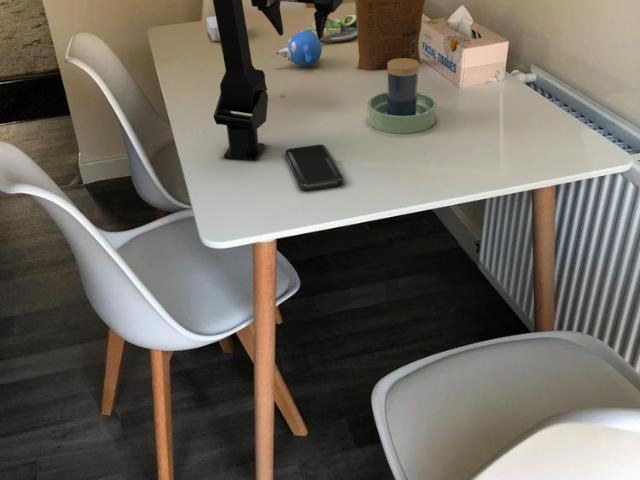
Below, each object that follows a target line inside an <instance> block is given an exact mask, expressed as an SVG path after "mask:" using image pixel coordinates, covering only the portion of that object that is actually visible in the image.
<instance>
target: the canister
mask: <svg viewBox="0 0 640 480" xmlns="http://www.w3.org/2000/svg"><path fill="white" fill-rule="evenodd" d="M386 71H387V91H386V92H387V114H388V115H393V116H411V115H416V103H417V92H418V82H419V81H418V79H419V71H420V61H419V62H418V61H416V60H413V59H408V58H398V59H393V60H390V61H389V62H388V63H387V69H386Z"/></svg>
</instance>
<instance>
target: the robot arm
mask: <svg viewBox="0 0 640 480" xmlns="http://www.w3.org/2000/svg"><path fill="white" fill-rule="evenodd" d="M281 2H288V3H299V4H309V5H310V4H311V5H313V9H315V11H314V13H313V16H314V22H315V24H316V31H317V36H318V39H319V40H321V39H322V36H323V32H324V28H325V24H326V20H327V18H329V15H331V14H333V13H335V12H336V10H337V9H338V8H339V7H340V6H341V5H342V4H343V3H344V0H250V4H251V7H255V8H257V10H258V11H259V12H262V14H263V15H264V17H266V19H267V20H268V22H270V24H271V25H272V26H273V29H274V30H275V31H276V33H277V34H278V35H279V36H280V37H282V36H283V35H284V26H283V25H284V24H283V20H282V19H283V18H282V13H281ZM212 5H213V9H214V16H216V20H217V26H218V31H219V36H220V41H219V42H220V47H221V51H222V57H223V63H224V67H225V68H224V69H225V72H224V74H223V76H222V79H221V82H220V83H219V88H220V89H219V90H220V94H219V97H218V100H217V104H216V107H215V110H214V113H213V120H214V122H215V124H216V125H218V126H219V125H220V126H226V131H227V134H226V135H227V142H228V149H227V150H225V152H224V154H223V158H224V159H234V160H246V161H247V160H248V161H256V160H257V159H258V157H259V156H260V154H261V153H262V151H263V149H264V148H265V143H263V142H259V136H258V129H259V128H260V127H261V126H263V124H265V123H266V122H267V115H268V106H269V105H268V104H269V95H268V87H267V84H266V74H265V72H264V70H262V69H256V68H255V66H253V61H252V54H251V48H250V42H249V35H248V30H247V23H246V17H245V16H246V15H245V11H244V10H245V9H244V3H243V0H212ZM235 112H236V113H235ZM248 114H249V115H248Z"/></svg>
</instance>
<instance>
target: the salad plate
mask: <svg viewBox="0 0 640 480" xmlns="http://www.w3.org/2000/svg"><path fill="white" fill-rule="evenodd" d="M301 32H310V33H313V34H314V35H316V36H317V31H316V24H315V21H313V22H312V23H311V24H309V25H307V26H306V27H304V28H303V29H302V30H301ZM317 37H318V36H317ZM356 37H357V24H356V13H349V14H346V15H345V16H344V17H343V18H342V19H336V18H329V17H327V20H326V24H325V28H324V32H323V36H322V39H321V40H320V43H326V44H327V43H328V44H329V43H340V42H345V41H346V42H348V41H350V40H352V39H354V38H356Z"/></svg>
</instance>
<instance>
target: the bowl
mask: <svg viewBox="0 0 640 480" xmlns="http://www.w3.org/2000/svg"><path fill="white" fill-rule="evenodd" d="M366 108H367V109H366V110H367V111H366V112H367V113H366V120H367V122H368V125H370V126H371V127H372V128H373V129H376V130H378V131H381V132H386V133H390V134H400V135H404V134H415V133H420V132H424V131H426V130H428V129H431V127H432V126H434V125H435V123H436V117H437V116H436V115H437V101H436V100H435V99H434V98H433V97H431V96H430V95H428V94H426V93H424V92H419V91H417V103H416V115H411V116H393V115H388V114H387V91H384V92H380V93H377V94H375V95H373V96H372V97H370V98H369V99H368V100H367V105H366Z"/></svg>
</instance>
